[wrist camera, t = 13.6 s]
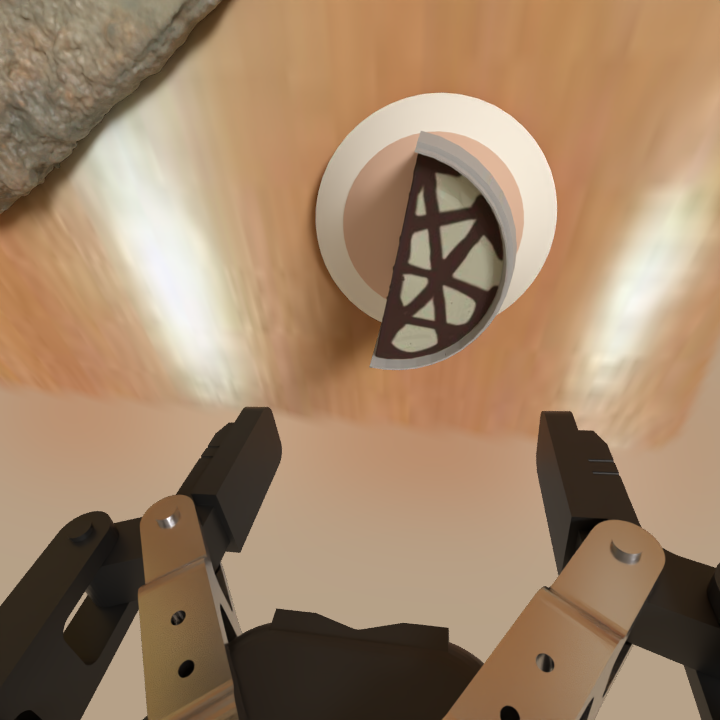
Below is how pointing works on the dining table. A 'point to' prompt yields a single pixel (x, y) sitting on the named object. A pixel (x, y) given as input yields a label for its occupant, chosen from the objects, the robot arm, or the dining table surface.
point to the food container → (446, 259)
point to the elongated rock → (75, 73)
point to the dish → (393, 183)
